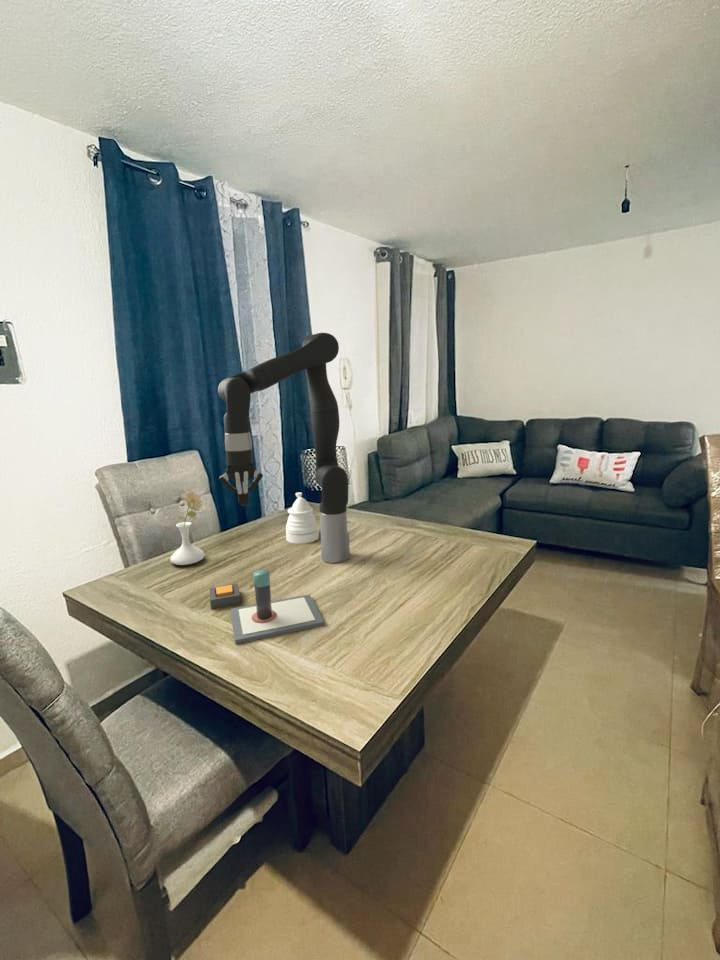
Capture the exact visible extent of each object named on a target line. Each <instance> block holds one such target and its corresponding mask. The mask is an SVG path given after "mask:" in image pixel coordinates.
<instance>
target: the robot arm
mask: <svg viewBox="0 0 720 960" xmlns="http://www.w3.org/2000/svg"><path fill="white" fill-rule="evenodd" d="M339 346H340V345H339V341H338V340H337V338H336V336H334V335H332V334H330V333H328V332H319V333H314V334H311V335H308V336H306V337H305V338H304V340H303V341H302V345H301V347H299V348H298V349H295V350H292V351H291V352H287V353H285V354H282V355H279V356H276V357H273V358H270V359H268V360H265V361H263V362H261V363H259V364H257V365H255V366H253V367H251V368H250V369H248V370H244V371H241V372H238V373H236V374H234V375H231V376H229V377H227V378H225V379H222V381H221V382H220V383H219V385H218V388H217V394H218V396H219V398H221V400H222V401H224V402H226V413H225V414H224V416H223V425H224V426H223V428H224V429H223V430H224V448H225V459H226V467H225V472H224V473H223V474H222V475H220V476H219V481H220V482H221V483H222V484H223V485H224V486H225V487H226V488H227V489H228V490H229V491H230V492H232V493H233V494H234V493H235V494H237V499H238V502H237V503H238V504H239V505H240V506H241V507H246V506H247V504H249V493H250V492H252V491H254V490H255V488H256V487H257V485H258V484H259V482H261V481H262V479H263V477H264V475H263V473H262V472H261V471H259V470H257V469H256V467H255V465H254V459H253V458H254V457H253V456H254V454H253V443H252V437H251V432H250V420H249V415H250V410H251V409H250V408H251V407H250V406H251V394H254V393H256V392H261V391H264V390H267V389H269V388H270V387H273V386H274V385H276V384H278V383H280V382H282V381H284V380H286V379H288V378H290V377H292V376H294V375H296V374H297V373H300V372H302V371H305V374H306V382H307V390H308V392H307V393H308V399H309V408H310V409H309V410H310V411H309V412H310V421H311V429H312V435H313V436H312V437H313V444H314V452H315V481H316V483H317V485H318V486H319V488H321V502H320V503H319V523H320V524H319V525H320V528H319V530H320V544H321V545H320V546H321V551H320V552H321V553H320V554H321V559H322V561H323V562H325V563H330V564H331V563H332V564H333V563H335V564H336V563H342V562H345V561H348V560H350V559H351V555H350V554H351V552H350V551H351V549H350V548H351V547H350V533H349V531H348V515H347V514H348V513H347V510H348V509H347V507H348V503H349V478H348V474H347V471H346V470H345V469H344V468H342V467H341V466H339V462H338V458H337V457H338V456H337V441H338V437H339V433H340V413H339V405H338V401H337V398H336V396H335V393H334V391H333V389H332V388H331V385H330V383H329V379H328V373H327V364H328V363H331V362H332V361H333V360H334V359H336V358H337V356H338V353H339V352H340V351H339V350H340V348H339ZM252 477H253V478H254V479H252ZM229 478H230V479H231V480H232V482H234V483H235V486H236V487H234V486H233V484H232V483H230V481H229ZM251 479H252V482H251V483H250V484H249V481H250V480H251ZM241 483H242V484H241Z"/></svg>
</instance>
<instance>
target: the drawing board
mask: <svg viewBox="0 0 720 960" xmlns="http://www.w3.org/2000/svg"><path fill="white" fill-rule="evenodd" d="M271 607H272V616H271V617H270V618H269V619H265V620H261V619H258V618H257V609H256V603H254V604H250V605H244V606H239V607H233V608H230V615H231V624H232V630H233V637H234V643H235V645H237V644H242V642H243V643H246V642H251V640H252V641H256V640H260V639H265V638H271V637H276V636H280V635H285V634H289V633H293V632H299V631H304V630H309V629H313V628H317V627H318V626H319V627H322V625H323V626H325V620H324V618H323V617H322V615H321V613H320V611H319V609H318V607H317V605H316V604H315V601H314V600H313V598H312V596H311V594H304V595H298V596H294V597H293V596H292V597H288V598H283V599H278V600H277V599H276V600H271ZM270 636H271V637H270Z"/></svg>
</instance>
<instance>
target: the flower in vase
mask: <svg viewBox="0 0 720 960" xmlns="http://www.w3.org/2000/svg"><path fill="white" fill-rule="evenodd" d="M183 500H184V502H185V503H186V506H187V509H186V514H185V517H183V516H180V515H179V516H177V517H178V521H179V520H181V521H182V522H178V523H177V524H176V525H175V526H176V527H177V528H178V530H179V531H180V536H181V540H182V541H181V545H180V547H178V548H177V549H176V550H175V552H173V554H171V556H170V559H169V561H170V562H171V563H172V564H173V565H177V566H189V565H193V564H195V563H198V562H200V561H201V560H203V559H204V558H205V555H206V554H205V552H204V551H203V550H202V549H200V548H198V547H197V546H195V545H193V544H192V543H191V542H190V535H189V533H190V527H191V525H192V524H193V523H192V522H191V521H190V522H189V521H187V517H190V518H192V519H193V518H195V517H196V516H197V512H198V511H199V512H200V510H201V509H202V507H203V505H202V500H201V499H200V497H199V496H198V494H197V493H196V494H195V491H193V490H189V491H188V490H186V492H185V494H184V495H183ZM189 509H190V510H189Z"/></svg>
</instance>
